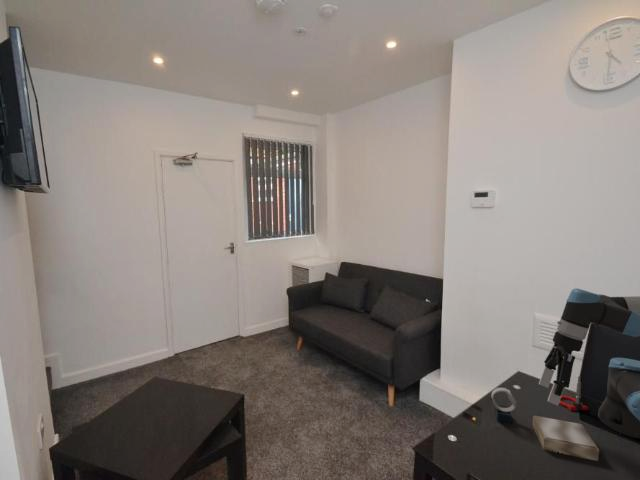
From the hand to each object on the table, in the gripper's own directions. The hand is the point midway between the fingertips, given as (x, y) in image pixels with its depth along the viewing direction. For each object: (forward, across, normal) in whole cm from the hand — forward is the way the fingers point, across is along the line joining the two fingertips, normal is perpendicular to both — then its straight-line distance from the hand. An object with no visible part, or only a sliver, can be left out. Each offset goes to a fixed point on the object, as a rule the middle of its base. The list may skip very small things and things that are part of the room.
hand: (547, 394), depth 108 cm
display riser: (+12, +2, +8) cm, 15 cm away
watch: (+16, -4, -8) cm, 19 cm away
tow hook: (+8, -24, +14) cm, 29 cm away
